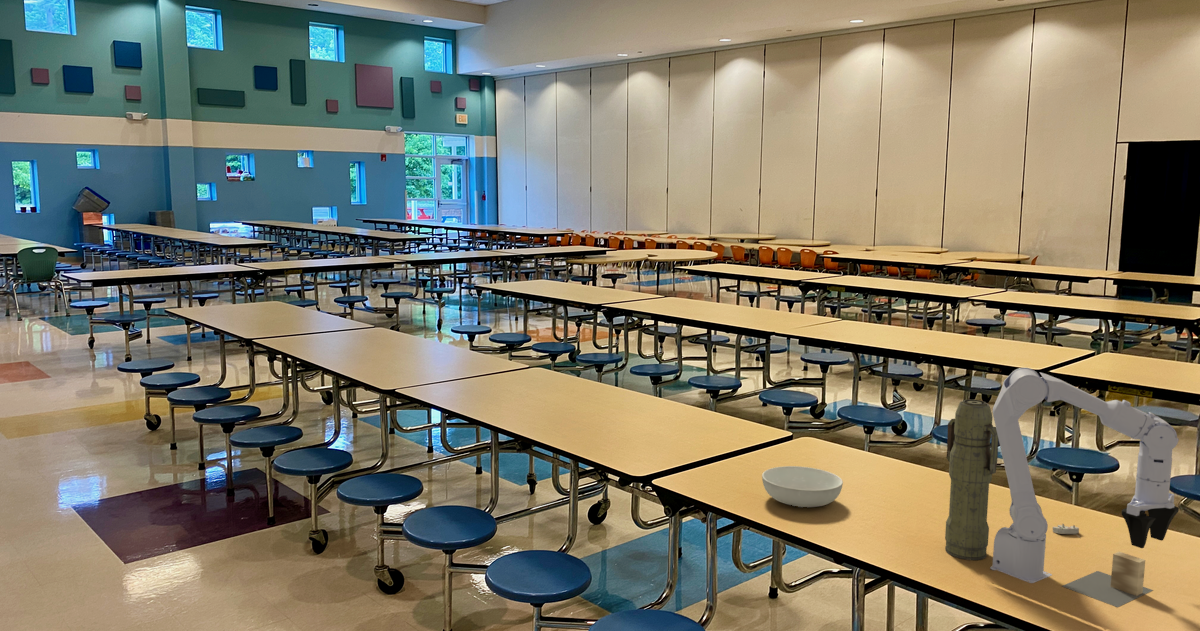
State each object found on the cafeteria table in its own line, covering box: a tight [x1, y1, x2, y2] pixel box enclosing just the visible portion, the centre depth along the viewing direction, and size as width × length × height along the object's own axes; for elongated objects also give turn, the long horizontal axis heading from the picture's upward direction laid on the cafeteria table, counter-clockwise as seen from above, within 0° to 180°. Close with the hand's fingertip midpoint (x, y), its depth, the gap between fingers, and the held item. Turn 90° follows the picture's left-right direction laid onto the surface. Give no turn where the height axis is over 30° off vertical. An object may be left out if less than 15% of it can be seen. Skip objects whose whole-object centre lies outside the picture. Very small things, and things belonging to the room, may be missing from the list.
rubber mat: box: [1061, 570, 1154, 608], centre depth 173 cm, size 11×14×1 cm
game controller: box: [1052, 523, 1081, 539], centre depth 201 cm, size 6×12×3 cm, turn 23°
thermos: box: [944, 399, 999, 561], centre depth 190 cm, size 9×12×35 cm
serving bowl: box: [761, 465, 844, 508], centre depth 225 cm, size 21×21×7 cm
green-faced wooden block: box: [1110, 551, 1146, 596], centre depth 171 cm, size 5×3×7 cm, turn 32°
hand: (1147, 542), depth 171 cm, fingers open, 7 cm apart
